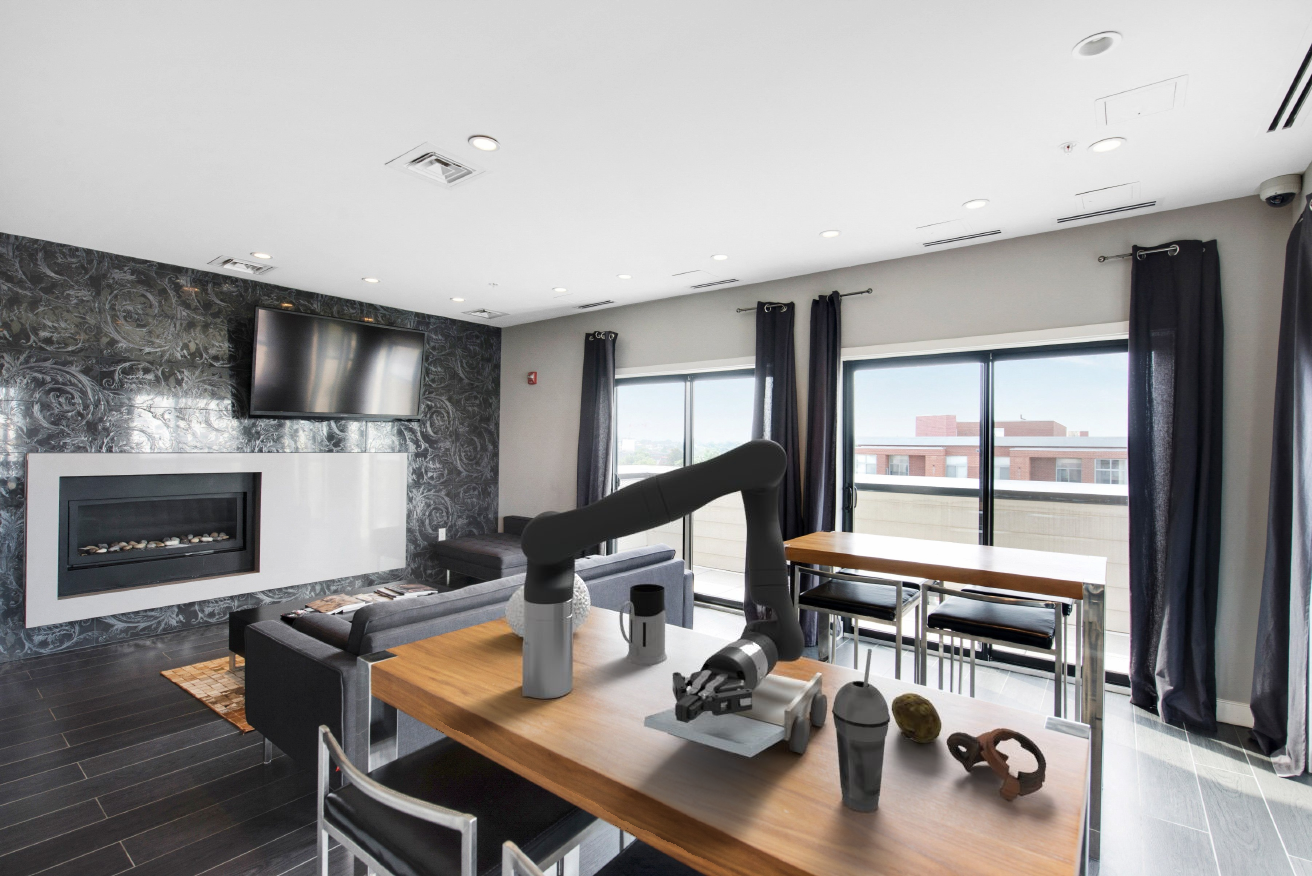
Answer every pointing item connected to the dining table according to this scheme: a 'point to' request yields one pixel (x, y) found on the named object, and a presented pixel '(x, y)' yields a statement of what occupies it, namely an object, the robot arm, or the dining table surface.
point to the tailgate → (720, 731)
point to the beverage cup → (860, 741)
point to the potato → (916, 717)
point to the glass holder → (645, 624)
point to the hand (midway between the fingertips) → (681, 714)
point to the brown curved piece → (999, 759)
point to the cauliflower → (579, 607)
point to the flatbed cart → (789, 707)
